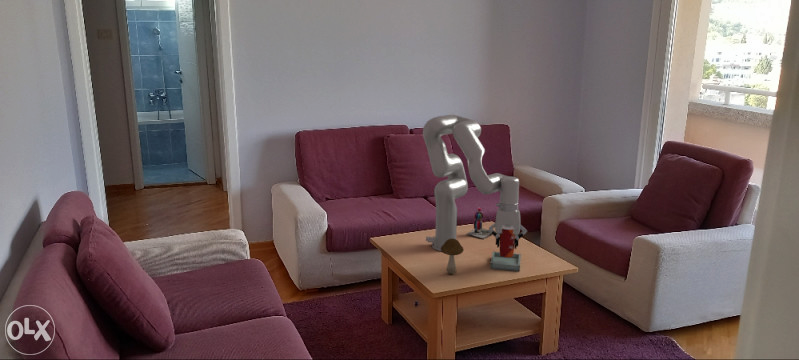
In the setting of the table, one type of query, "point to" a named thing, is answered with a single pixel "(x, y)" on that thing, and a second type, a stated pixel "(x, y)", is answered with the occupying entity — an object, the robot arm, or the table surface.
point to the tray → (505, 262)
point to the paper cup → (507, 241)
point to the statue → (479, 226)
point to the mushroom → (451, 253)
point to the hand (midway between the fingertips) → (506, 246)
